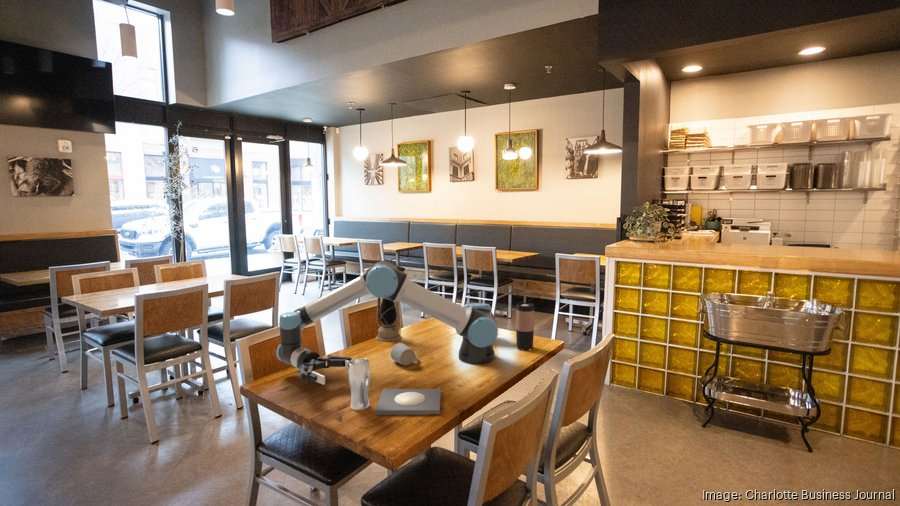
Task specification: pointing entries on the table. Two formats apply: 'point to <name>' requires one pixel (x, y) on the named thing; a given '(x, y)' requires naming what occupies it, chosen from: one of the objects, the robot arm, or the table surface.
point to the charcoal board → (409, 402)
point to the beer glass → (359, 383)
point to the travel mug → (525, 326)
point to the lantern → (388, 320)
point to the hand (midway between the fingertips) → (341, 374)
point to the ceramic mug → (403, 354)
